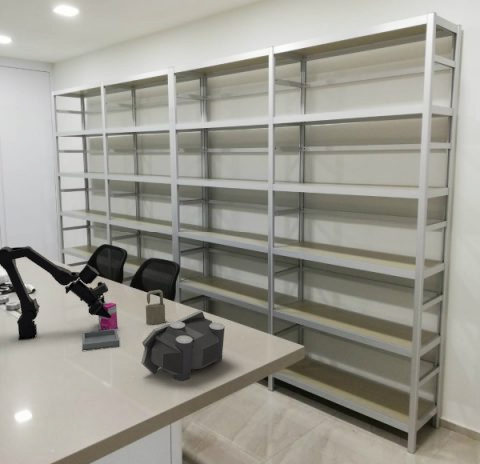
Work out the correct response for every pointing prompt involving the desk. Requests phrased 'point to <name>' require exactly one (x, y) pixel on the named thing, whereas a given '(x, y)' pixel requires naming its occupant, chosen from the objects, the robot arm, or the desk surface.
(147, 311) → the padlock
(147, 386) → the desk surface
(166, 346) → the electronic device
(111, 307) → the supplement box
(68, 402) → the desk surface
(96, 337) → the tray
